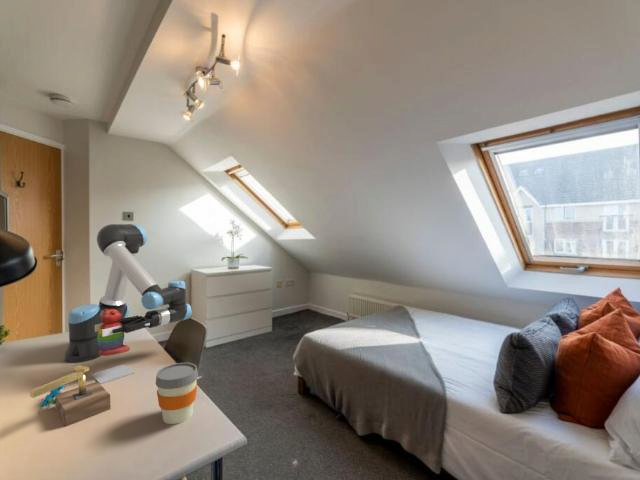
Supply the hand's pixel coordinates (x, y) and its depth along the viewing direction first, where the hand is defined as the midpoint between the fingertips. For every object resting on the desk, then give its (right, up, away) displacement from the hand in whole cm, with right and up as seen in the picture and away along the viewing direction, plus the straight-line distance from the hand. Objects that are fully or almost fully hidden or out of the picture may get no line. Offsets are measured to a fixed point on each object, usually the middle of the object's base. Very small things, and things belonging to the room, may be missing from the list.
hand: (98, 330), depth 126 cm
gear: (-4, -21, -17) cm, 27 cm away
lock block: (+9, -21, -20) cm, 30 cm away
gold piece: (+7, -15, -27) cm, 32 cm away
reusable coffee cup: (+43, -21, -24) cm, 53 cm away
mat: (+3, -20, +5) cm, 20 cm away
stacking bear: (+3, -10, +4) cm, 11 cm away
